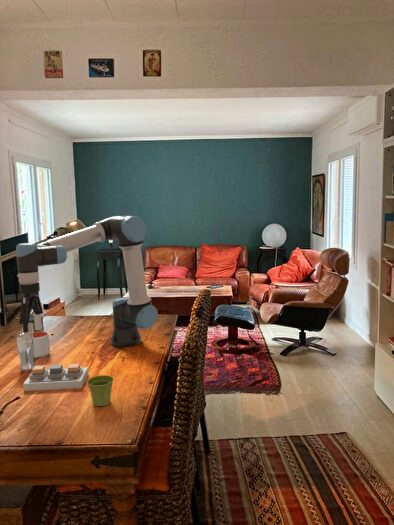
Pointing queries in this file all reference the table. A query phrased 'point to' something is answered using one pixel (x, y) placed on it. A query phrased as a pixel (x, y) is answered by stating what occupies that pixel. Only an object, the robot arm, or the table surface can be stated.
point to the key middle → (56, 368)
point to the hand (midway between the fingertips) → (33, 334)
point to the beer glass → (26, 352)
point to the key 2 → (73, 367)
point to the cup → (41, 344)
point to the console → (56, 380)
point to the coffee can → (32, 325)
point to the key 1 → (38, 369)
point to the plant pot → (100, 389)
